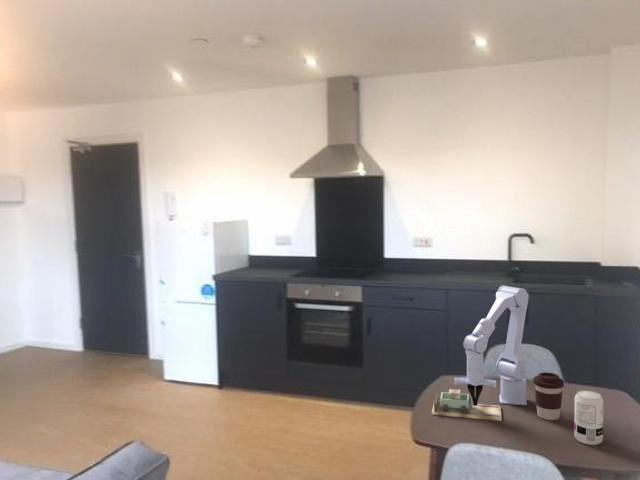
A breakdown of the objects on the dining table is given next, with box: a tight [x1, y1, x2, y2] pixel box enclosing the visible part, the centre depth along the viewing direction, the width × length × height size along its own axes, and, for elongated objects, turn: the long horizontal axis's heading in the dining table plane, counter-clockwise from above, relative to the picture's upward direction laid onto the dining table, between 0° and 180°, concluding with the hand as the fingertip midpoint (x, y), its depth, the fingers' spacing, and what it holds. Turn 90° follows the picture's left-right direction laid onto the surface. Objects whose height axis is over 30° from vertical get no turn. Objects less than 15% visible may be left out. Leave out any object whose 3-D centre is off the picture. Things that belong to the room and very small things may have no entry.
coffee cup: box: [532, 372, 565, 421], centre depth 185 cm, size 10×10×15 cm
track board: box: [431, 392, 502, 422], centre depth 192 cm, size 24×11×4 cm, turn 73°
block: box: [448, 388, 461, 400], centre depth 193 cm, size 4×4×4 cm
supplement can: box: [573, 389, 604, 446], centre depth 167 cm, size 8×8×15 cm
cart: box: [439, 391, 473, 412], centre depth 193 cm, size 11×9×4 cm
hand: (475, 404), depth 191 cm, fingers closed
